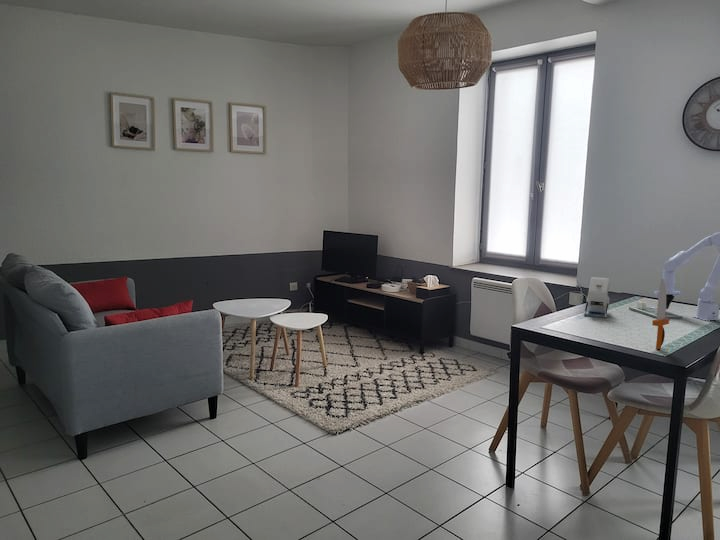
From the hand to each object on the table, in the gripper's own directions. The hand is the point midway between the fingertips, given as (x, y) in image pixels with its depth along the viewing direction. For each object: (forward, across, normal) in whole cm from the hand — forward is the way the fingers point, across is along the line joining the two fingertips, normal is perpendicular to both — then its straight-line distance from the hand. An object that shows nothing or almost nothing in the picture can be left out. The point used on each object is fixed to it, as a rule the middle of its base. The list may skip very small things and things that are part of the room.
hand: (665, 308), depth 292 cm
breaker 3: (+1, +9, +7) cm, 12 cm away
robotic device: (+3, +37, -3) cm, 38 cm away
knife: (+3, +51, +61) cm, 80 cm away
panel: (+3, +6, 0) cm, 7 cm away
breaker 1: (+1, +9, -7) cm, 11 cm away
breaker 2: (+1, +3, 0) cm, 3 cm away
